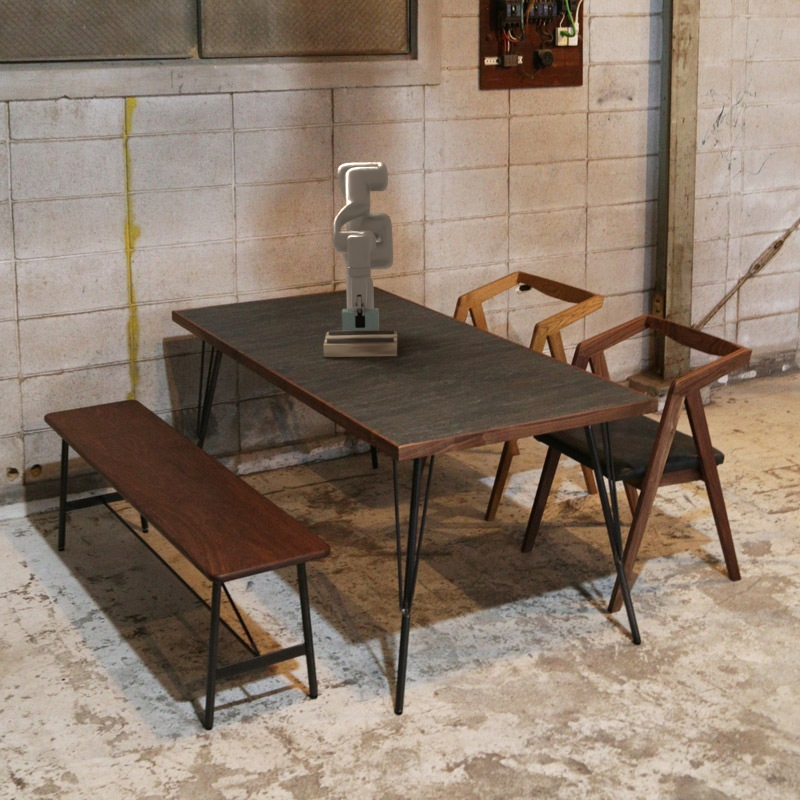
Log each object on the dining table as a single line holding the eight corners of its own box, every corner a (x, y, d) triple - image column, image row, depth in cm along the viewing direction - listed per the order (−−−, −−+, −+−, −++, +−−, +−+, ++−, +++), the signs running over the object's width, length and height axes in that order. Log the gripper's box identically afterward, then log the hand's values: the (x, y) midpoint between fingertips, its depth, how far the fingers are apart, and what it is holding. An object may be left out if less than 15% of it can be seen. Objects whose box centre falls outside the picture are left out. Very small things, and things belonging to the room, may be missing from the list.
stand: (327, 343, 441) (326, 328, 439) (397, 342, 440) (397, 327, 439) (323, 357, 423) (323, 341, 422) (396, 355, 423) (396, 340, 422)
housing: (378, 325, 432) (378, 308, 431) (378, 329, 426) (378, 311, 425) (343, 326, 432) (342, 308, 431) (342, 330, 427) (341, 312, 425)
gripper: (349, 267, 433) (350, 320, 437) (346, 276, 416) (348, 331, 421) (371, 267, 432) (372, 319, 437) (369, 276, 416) (371, 331, 421)
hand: (360, 324), depth 429 cm, fingers closed on housing, 6 cm apart
